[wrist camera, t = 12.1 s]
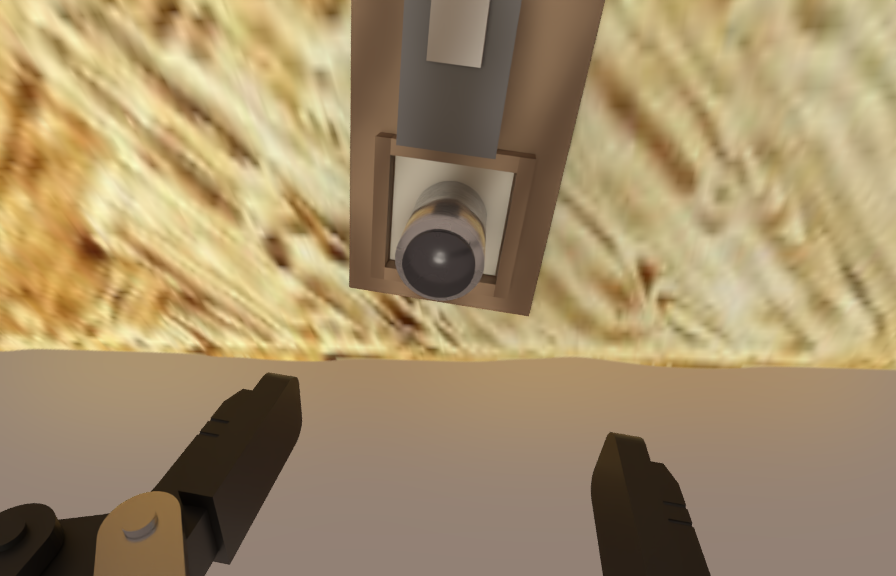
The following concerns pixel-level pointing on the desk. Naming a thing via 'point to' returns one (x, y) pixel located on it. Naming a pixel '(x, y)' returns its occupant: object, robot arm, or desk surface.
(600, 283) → the desk surface
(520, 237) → the dock
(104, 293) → the desk surface
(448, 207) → the lens
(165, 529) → the robot arm
